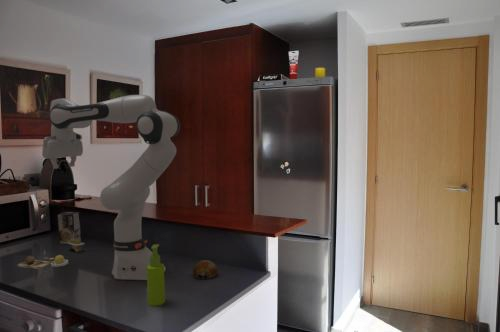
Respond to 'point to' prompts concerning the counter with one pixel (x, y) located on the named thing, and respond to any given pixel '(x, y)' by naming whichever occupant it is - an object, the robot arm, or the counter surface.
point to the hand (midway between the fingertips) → (64, 167)
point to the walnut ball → (29, 260)
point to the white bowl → (59, 264)
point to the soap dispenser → (155, 279)
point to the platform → (76, 244)
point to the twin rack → (36, 264)
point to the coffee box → (69, 226)
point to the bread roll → (205, 270)
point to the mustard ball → (59, 259)
